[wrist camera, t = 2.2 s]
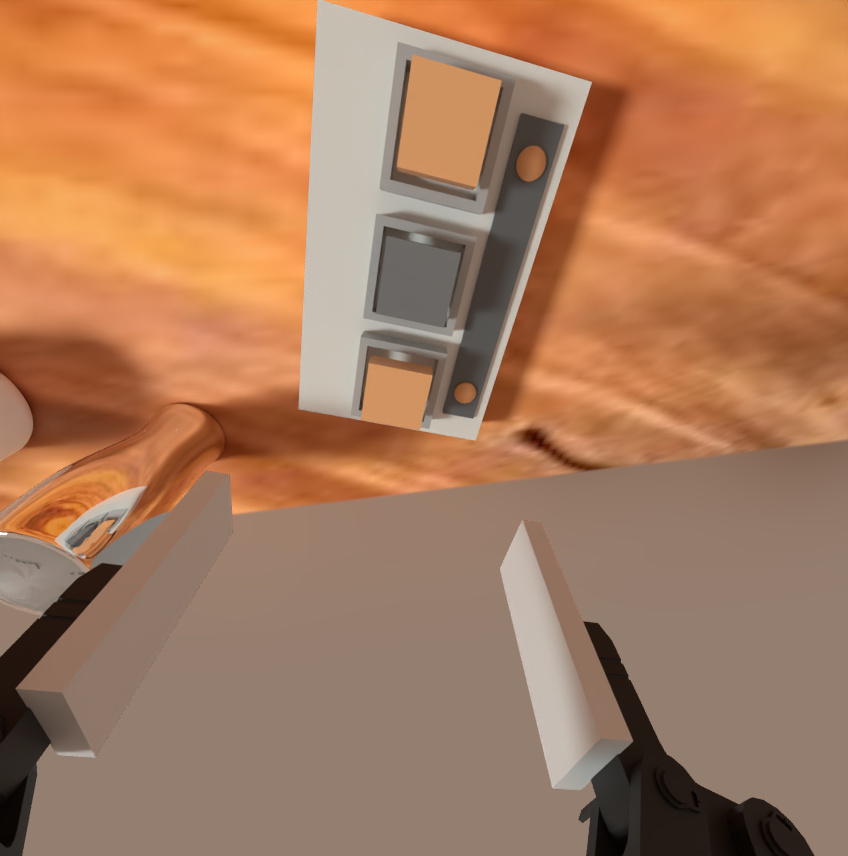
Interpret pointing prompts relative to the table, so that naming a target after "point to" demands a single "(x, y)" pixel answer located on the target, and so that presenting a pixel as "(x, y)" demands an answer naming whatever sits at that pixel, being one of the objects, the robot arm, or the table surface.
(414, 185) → the console
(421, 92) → the key
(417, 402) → the key
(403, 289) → the key middle
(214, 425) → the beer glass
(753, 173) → the table surface
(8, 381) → the cup
